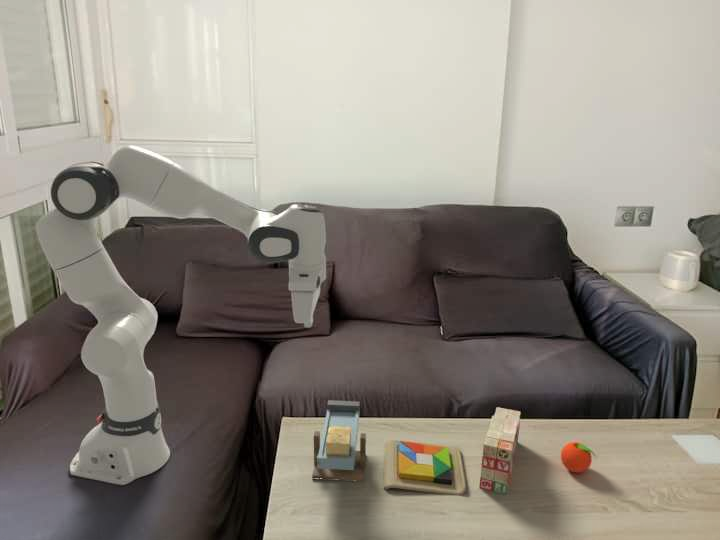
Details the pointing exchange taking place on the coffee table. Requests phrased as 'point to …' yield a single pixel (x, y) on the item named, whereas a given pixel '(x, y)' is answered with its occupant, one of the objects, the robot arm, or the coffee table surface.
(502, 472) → the stack of blocks
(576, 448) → the clementine
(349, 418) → the beam
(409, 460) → the wooden puzzle
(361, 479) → the pivot stand
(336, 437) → the block
